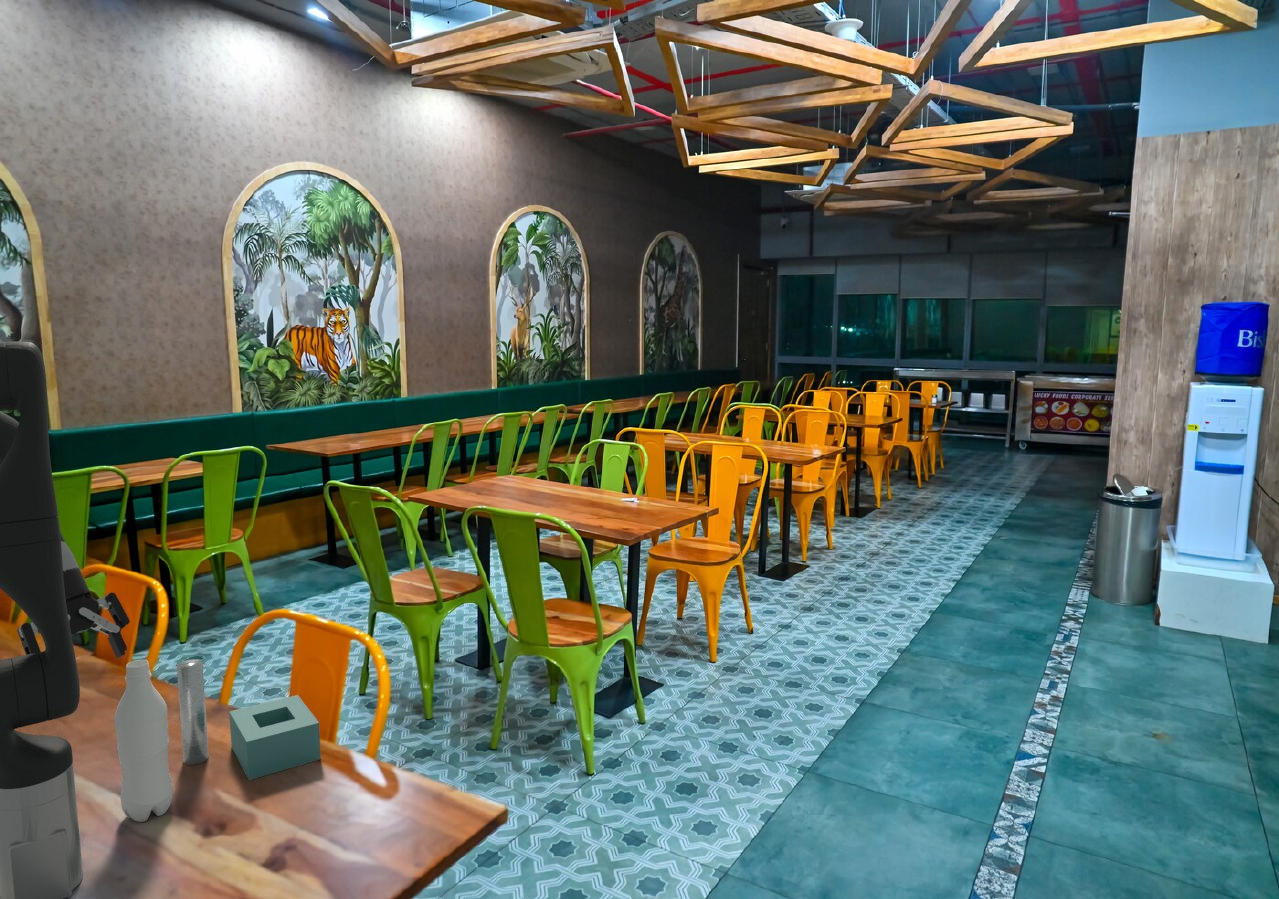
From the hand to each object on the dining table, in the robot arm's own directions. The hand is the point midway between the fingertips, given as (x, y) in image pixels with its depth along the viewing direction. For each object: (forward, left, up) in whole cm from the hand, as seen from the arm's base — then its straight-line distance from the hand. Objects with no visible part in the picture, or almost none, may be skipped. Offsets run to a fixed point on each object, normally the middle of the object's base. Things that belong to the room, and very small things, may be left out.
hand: (93, 668), depth 132 cm
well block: (-1, -26, -23) cm, 35 cm away
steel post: (+5, -14, -23) cm, 27 cm away
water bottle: (-9, -5, -23) cm, 25 cm away
